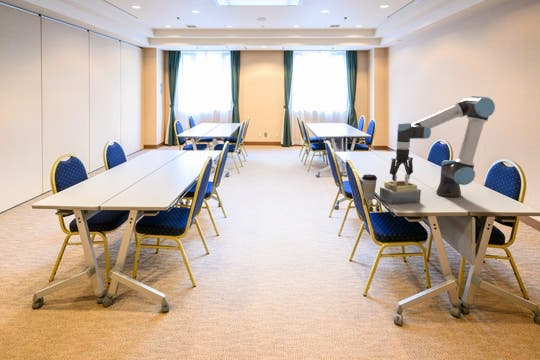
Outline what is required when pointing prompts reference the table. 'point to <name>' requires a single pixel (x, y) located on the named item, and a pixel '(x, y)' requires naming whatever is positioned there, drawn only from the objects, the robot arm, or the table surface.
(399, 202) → the open square box
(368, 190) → the coffee cup
